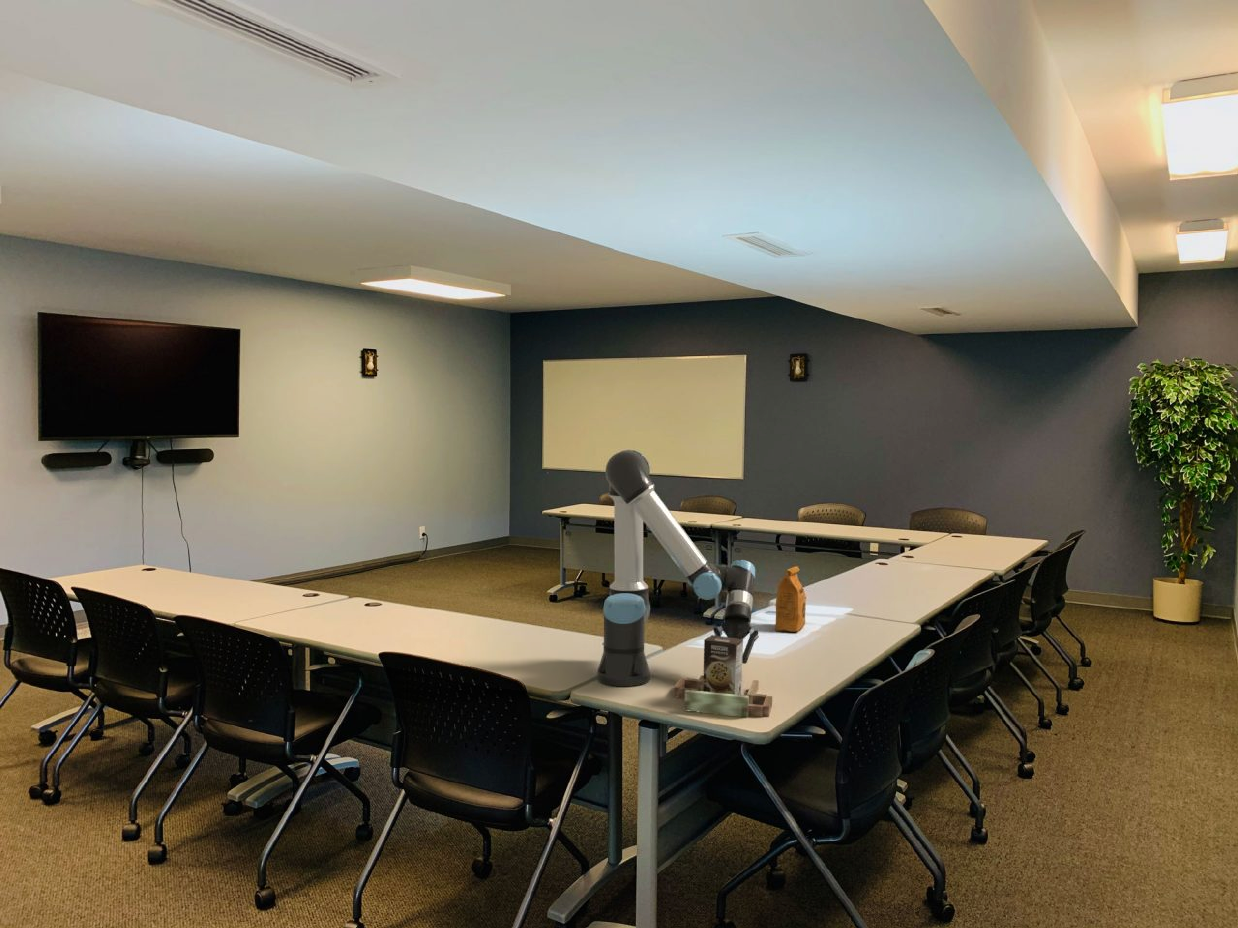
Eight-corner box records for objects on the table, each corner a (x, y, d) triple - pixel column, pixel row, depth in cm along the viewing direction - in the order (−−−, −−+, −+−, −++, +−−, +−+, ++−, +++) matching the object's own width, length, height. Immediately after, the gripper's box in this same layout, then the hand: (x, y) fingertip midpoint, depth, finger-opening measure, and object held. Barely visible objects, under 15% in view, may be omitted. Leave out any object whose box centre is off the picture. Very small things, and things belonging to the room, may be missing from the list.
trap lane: (665, 708, 222) (665, 689, 222) (683, 682, 245) (683, 664, 244) (767, 719, 215) (768, 699, 215) (776, 691, 238) (777, 673, 237)
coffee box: (702, 699, 230) (702, 639, 229) (710, 692, 235) (710, 634, 235) (735, 704, 226) (736, 643, 225) (742, 697, 232) (743, 638, 231)
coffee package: (809, 627, 311) (811, 566, 310) (798, 634, 301) (799, 571, 299) (783, 624, 316) (784, 564, 315) (771, 630, 306) (772, 569, 304)
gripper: (762, 618, 250) (755, 693, 235) (717, 615, 254) (707, 688, 239) (760, 604, 245) (753, 680, 230) (714, 601, 248) (704, 675, 233)
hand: (730, 684), depth 234 cm, fingers closed
